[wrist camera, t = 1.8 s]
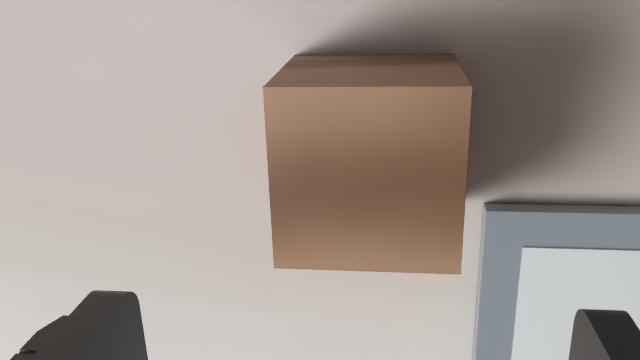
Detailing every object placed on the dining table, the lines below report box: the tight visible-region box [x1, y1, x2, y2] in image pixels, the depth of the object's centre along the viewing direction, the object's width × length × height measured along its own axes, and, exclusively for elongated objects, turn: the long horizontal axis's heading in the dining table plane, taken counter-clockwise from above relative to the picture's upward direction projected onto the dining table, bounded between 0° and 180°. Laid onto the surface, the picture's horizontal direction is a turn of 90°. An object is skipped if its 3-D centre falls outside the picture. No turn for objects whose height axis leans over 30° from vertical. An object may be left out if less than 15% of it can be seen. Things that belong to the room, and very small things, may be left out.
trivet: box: [472, 203, 640, 360], centre depth 25 cm, size 12×12×1 cm
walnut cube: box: [263, 54, 472, 274], centre depth 21 cm, size 6×6×6 cm
